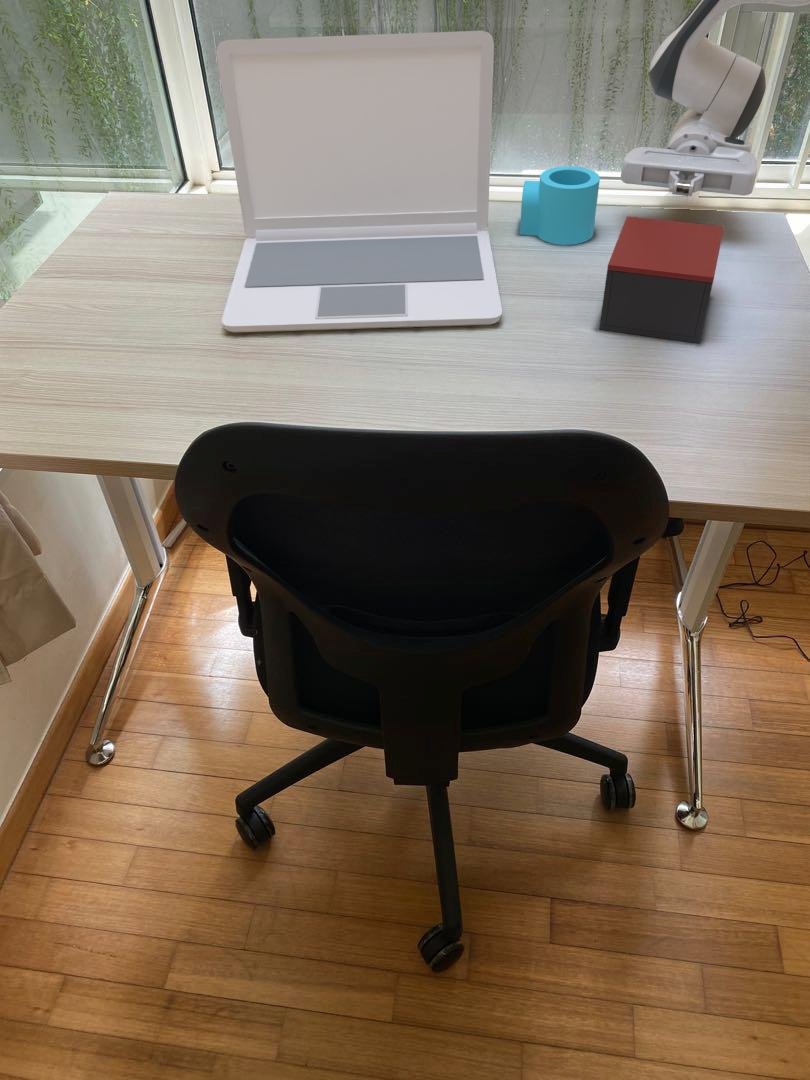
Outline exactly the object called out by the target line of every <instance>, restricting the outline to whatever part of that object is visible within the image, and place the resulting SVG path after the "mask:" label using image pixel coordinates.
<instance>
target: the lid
mask: <svg viewBox="0 0 810 1080" xmlns="http://www.w3.org/2000/svg"><path fill="white" fill-rule="evenodd" d="M724 229H725V226H722V225H715V224H704V223H695V222H687V221H686V222H685V221H677V220H676V221H675V220H666V219H658V218H657V219H656V218H646V217H637V216H629V215H627V216H626V218H625V220H624V222H623V225H622V228H621V230H620V233H619V235H618V237H617V240H616V243H615V246H614V248H613V251H612V253H611V256H610V258H609V261H608V264H607V268H606V271H607V270H612V271H620V272H628V273H636V274H645V275H653V276H661V277H669V278H677V279H685V280H694V281H702V282H710V283H713V284H714V280H715V275H716V270H717V265H718V261H719V254H720V249H721V244H722V239H723V233H724Z"/></svg>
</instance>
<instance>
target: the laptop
mask: <svg viewBox="0 0 810 1080" xmlns="http://www.w3.org/2000/svg"><path fill="white" fill-rule="evenodd" d="M493 37H494V36H492V34H490V33H489V32H488V31H486V30H485V31H484V30H462V31H461V30H460V31H436V32H435V31H434V32H409V33H408V32H407V33H386V34H385V33H380V34H379V33H378V34H377V33H376V34H355V35H354V34H353V35H327V36H325V35H324V36H322V35H321V36H298V37H297V36H295V37H273V38H270V37H269V38H243V39H241V38H240V39H226V40H223V41H220V42H219V44H218V45H217V46H216V51H215V52H216V56H215V57H216V61H217V66H218V74H219V80H220V86H221V94H222V98H223V99H222V100H223V105H224V111H225V118H226V124H227V130H228V137H229V143H230V149H231V155H232V161H233V168H234V174H235V179H236V186H237V193H238V199H239V205H240V211H241V216H242V225H243V231H244V235H245V236H246V237H249V238H246V239H244V243H243V246H242V249H241V253H240V256H239V259H238V263H237V266H236V270H235V273H234V277H233V280H232V283H231V286H230V290H229V293H228V296H227V299H226V303H225V307H224V310H223V314H222V316H221V324H222V327H223V329H225V330H226V331H227V332H230V333H265V332H295V331H296V332H297V331H329V330H330V331H331V330H333V331H334V330H362V329H365V330H366V329H391V328H392V329H395V328H424V327H427V328H429V327H455V326H457V327H458V326H459V327H460V326H488V325H489V326H490V325H494V324H496V323H498V322H499V321H500V320H501V317H502V313H503V306H502V301H501V296H500V291H499V286H498V280H497V273H496V269H495V264H494V257H493V252H492V246H491V241H490V235H489V231H487V230H486V229H487V228H488V227H489V207H490V206H489V205H490V179H491V177H490V175H491V149H492V148H491V145H492V122H493V121H492V118H493V117H492V116H493V91H494V61H495V60H494V59H495V42H494V38H493Z"/></svg>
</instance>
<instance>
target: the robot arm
mask: <svg viewBox="0 0 810 1080" xmlns="http://www.w3.org/2000/svg"><path fill="white" fill-rule="evenodd" d="M743 4H767V5H777V6H784V7H799V6H800V7H801V6H806V5H810V0H698V1H697V2H696V4H695V5H694V6H693V8H692V9H691V10H690V11H689V12H688V14H687V15H686V16H685V18H684V19H683V20H682V21H681V23H679V25H678V26H677V27H676V28H675V29H674V30H673V31H672V32H671V33H670V34H669V36H667V37H666V38H665V39H664V40H663V42H662V43H661V44H660V45H659V46H658V48H657V49H656V51H655V53H654V55H653V56H652V59H651V62H650V65H649V68H648V69H649V70H648V72H647V75H648V79H649V84H650V86H651V88H652V92H653V93H654V95H655V96H657V97H660V98H663V99H666V100H667V101H671V102H675V103H676V104H679V105H681V106H683V107H685V108H686V109H687V110H686V111H685V112H684V113H683V114H682V115H681V117H680V118H679V119H678V120H677V122H676V124H675V125H674V128H673V130H672V132H671V135H670V139H669V140H668V143H667V145H666V148H662V147H661V148H660V147H651V146H637V147H634V148H632V149H631V150H630V151H629V152H627V153H626V154H625V156H624V158H623V160H622V165H621V170H620V181H621V182H623V183H624V184H628V185H635V186H636V185H637V186H646V187H656V188H665V189H666V188H667V189H669V190H671V191H672V192H671V195H675V196H676V195H677V196H685V197H692V196H693V194H694V193H697V192H706V193H716V194H725V195H735V196H742V197H743V196H749V195H751V194H752V193H753V190H754V187H755V184H756V183H755V182H756V179H757V173H758V162H757V158H756V156H755V155H754V154H753V152H752V149H753V147H752V146H753V144H752V143H751V142H750V141H747V140H744V139H739V137H740V136H742V135H743V134H744V132H745V131H746V130H747V128H748V127H749V126H750V124H751V123H752V122H753V120H754V118H755V115H756V114H757V112H758V110H759V109H760V106H761V104H762V101H763V98H764V95H765V92H766V90H767V83H766V74H765V73H766V72H765V70H764V68H763V66H761V65H759V64H758V63H756V62H755V61H752V60H751V59H749V58H747V57H745V56H742V55H740V54H739V53H735V52H733V51H731V50H729V49H728V48H726V47H723V46H721V45H719V44H718V43H716V42H714V41H712V40H710V39H709V38H708V37H707V35H709V33H710V32H711V31H712V29H713V28H714V27H715V26H716V25H717V24H718V23H719V22H720V20H721V19H722V17H723V16H724V15H725V14H726V13H727V12H728V11H729V10H730V9H731V8H733V7H735V6H738V5H743Z"/></svg>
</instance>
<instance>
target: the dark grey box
mask: <svg viewBox="0 0 810 1080" xmlns="http://www.w3.org/2000/svg"><path fill="white" fill-rule="evenodd" d="M605 275H606V277H605V284H604V290H603V299H602V307H601V314H600V321H599V327H598V329H599V330H601V331H609V332H617V333H623V334H630V335H638V336H644V337H651V338H659V339H665V340H672V341H680V342H688V343H695V344H700V342H701V337H702V333H703V329H704V325H705V324H704V323H705V320H706V316H707V311H708V308H709V307H708V306H709V303H710V302H709V301H710V298H711V292H712V289H713V285H714V282H713V283H710V282H702V281H694V280H685V279H677V278H669V277H661V276H653V275H645V274H636V273H628V272H620V271H612V270H607V269H606V274H605Z"/></svg>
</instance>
